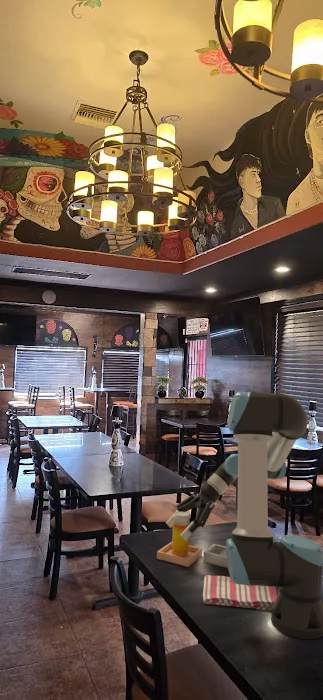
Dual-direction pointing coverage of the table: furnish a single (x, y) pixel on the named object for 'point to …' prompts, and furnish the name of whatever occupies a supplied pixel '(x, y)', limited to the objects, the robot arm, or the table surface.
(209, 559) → the frame
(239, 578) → the robot arm
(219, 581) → the dish towel
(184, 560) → the serving tray
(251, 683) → the table surface
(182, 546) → the beer can
